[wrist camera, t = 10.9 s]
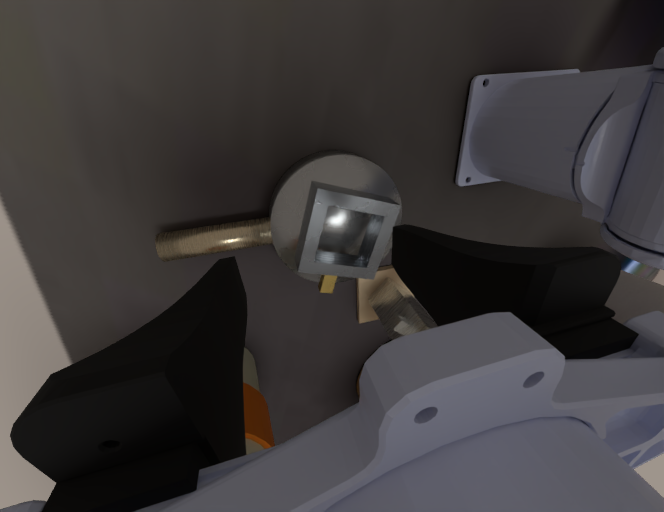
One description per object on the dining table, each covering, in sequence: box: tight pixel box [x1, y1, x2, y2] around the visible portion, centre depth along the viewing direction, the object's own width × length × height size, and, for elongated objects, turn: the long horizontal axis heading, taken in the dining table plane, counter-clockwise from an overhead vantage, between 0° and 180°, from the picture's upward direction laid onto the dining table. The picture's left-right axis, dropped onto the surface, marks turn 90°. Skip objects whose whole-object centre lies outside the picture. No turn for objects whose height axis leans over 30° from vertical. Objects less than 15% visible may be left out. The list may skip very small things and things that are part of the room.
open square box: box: [294, 181, 401, 293], centre depth 19 cm, size 6×8×2 cm
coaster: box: [357, 265, 414, 324], centre depth 27 cm, size 6×6×1 cm
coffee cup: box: [605, 270, 664, 324], centre depth 27 cm, size 10×10×15 cm
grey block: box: [368, 277, 438, 340], centre depth 24 cm, size 5×3×7 cm, turn 51°
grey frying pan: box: [155, 150, 402, 283], centre depth 20 cm, size 18×10×2 cm, turn 94°
